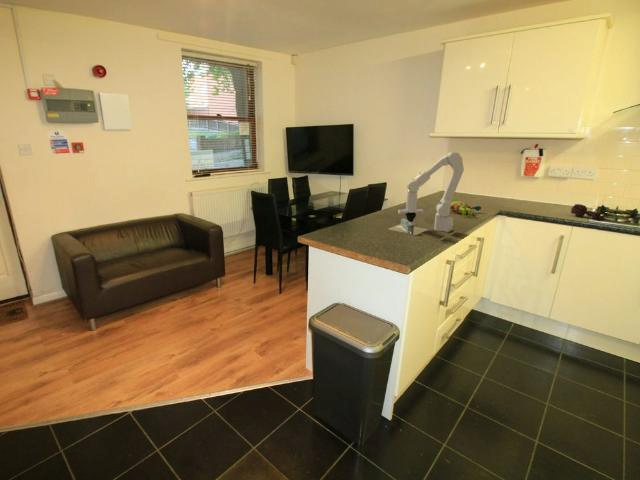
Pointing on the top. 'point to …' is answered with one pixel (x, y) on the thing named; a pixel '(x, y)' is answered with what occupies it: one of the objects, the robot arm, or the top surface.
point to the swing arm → (407, 224)
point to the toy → (463, 208)
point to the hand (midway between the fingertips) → (409, 225)
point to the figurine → (585, 212)
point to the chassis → (412, 230)
